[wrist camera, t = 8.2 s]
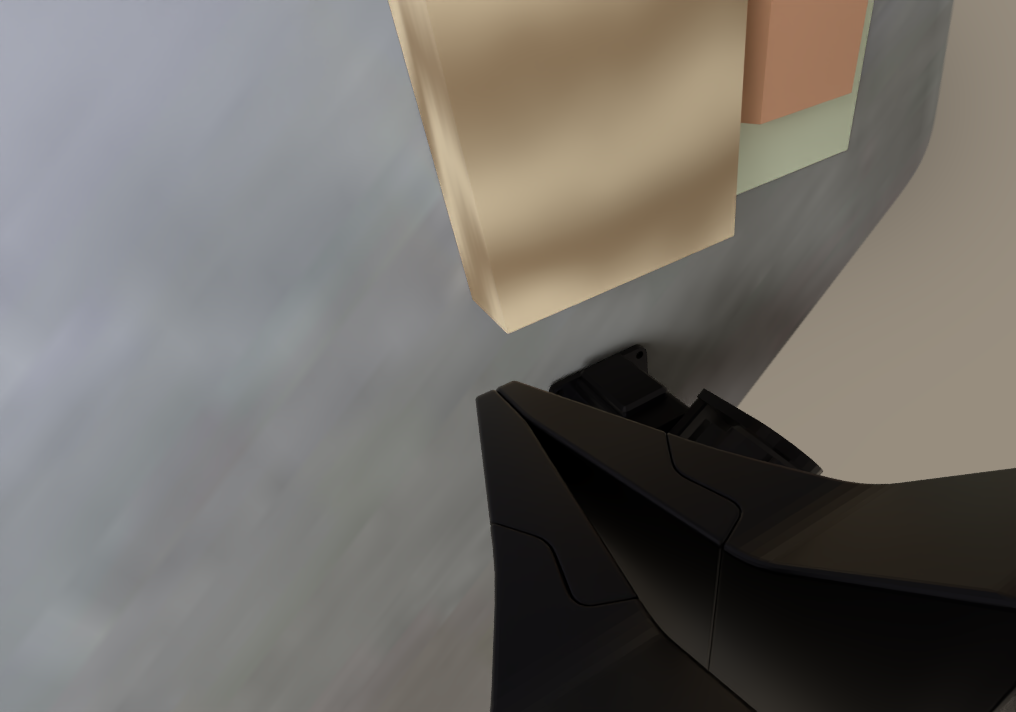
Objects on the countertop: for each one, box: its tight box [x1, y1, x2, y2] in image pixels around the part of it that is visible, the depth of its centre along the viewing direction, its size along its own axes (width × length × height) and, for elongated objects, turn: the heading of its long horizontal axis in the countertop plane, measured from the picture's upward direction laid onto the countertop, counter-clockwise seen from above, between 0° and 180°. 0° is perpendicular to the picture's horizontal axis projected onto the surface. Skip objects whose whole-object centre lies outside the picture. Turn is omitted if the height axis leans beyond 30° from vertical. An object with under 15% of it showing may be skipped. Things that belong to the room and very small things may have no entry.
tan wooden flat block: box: [388, 0, 748, 334], centre depth 18 cm, size 18×12×4 cm, turn 13°
